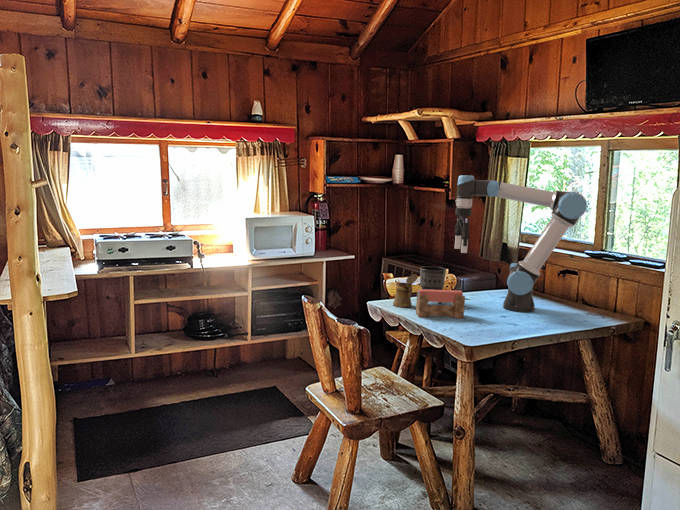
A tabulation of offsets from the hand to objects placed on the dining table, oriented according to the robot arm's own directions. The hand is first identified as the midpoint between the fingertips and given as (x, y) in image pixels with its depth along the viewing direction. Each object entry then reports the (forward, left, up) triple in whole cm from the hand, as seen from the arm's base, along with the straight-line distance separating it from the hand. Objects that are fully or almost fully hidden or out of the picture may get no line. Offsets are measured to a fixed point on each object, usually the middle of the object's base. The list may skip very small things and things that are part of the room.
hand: (460, 250), depth 290 cm
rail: (+12, +17, -22) cm, 30 cm away
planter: (+11, -10, -29) cm, 32 cm away
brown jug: (+26, +1, -29) cm, 39 cm away
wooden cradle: (+12, +17, -29) cm, 35 cm away
